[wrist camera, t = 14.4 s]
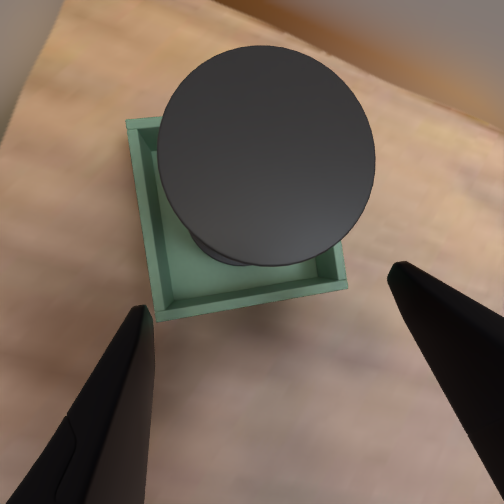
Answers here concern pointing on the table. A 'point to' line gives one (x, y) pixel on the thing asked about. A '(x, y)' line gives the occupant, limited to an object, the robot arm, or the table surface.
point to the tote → (199, 263)
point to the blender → (265, 157)
